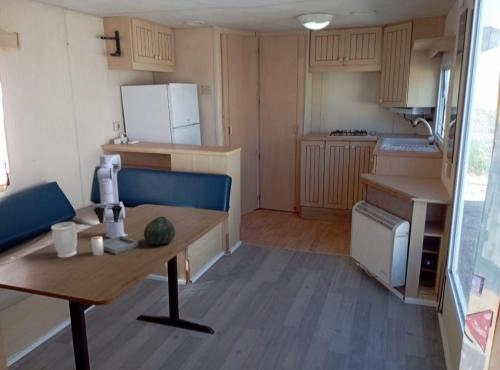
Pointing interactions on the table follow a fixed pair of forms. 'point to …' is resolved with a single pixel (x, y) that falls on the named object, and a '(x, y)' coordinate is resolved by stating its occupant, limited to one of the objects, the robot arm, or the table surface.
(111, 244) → the tray
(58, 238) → the jar
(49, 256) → the table surface
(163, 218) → the squash
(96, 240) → the cup
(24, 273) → the table surface
